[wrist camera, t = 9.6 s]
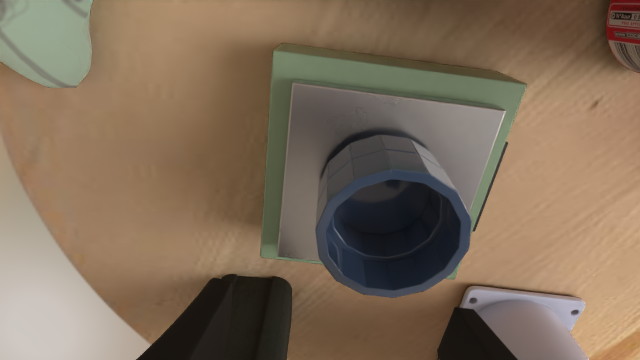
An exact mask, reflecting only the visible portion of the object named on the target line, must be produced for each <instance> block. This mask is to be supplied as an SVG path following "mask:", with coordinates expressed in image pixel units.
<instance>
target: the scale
mask: <svg viewBox="0 0 640 360" xmlns="http://www.w3.org/2000/svg"><path fill="white" fill-rule="evenodd" d="M294 79H300V80H308V81H316V82H323V83H331V84H339V85H346V86H354V87H362V88H369V89H377V90H385V91H392V92H400V93H407V94H415V95H423V96H430V97H438V98H446V99H453V100H461V101H469V102H476V103H484V104H492V105H498V106H500V107H502V108H503V109H505V110H506V113H505V115H504V118H503V121H502V124H501V126H500V129H499V132H498V135H497V138H496V140H495V143H494V146H493V149H492V151H491V154H490V157H489V160H488V163H487V165H486V168H485V171H484V174H483V176H482V179H481V182H480V185H479V188H478V190H477V193H476V196H475V199H474V202H473V204H472V207H471V210H470V213H469V214H470V216H471V218H472V225H471V233H472V231H475V230H476V227H477V224H478V222H479V219H480V216H481V214H482V211H483V208H484V206H485V203H486V200H487V198H488V195H489V193H490V190H491V187H492V185H493V182H494V179H495V177H496V174H497V171H498V169H499V166H500V163H501V161H502V158H503V155H504V153H505V150H506V147H507V145H508V142H506V140H507V137H508V134H509V132H510V129H511V126H512V124H513V121H514V118H515V116H516V113H517V110H518V108H519V105H520V102H521V100H522V97H523V94H524V92H525V89H526V86H527V84H525V83H523V82H521V81H519V80H516V79H514V78H512V77H509V76H507V75H505V74H503V73H500V72H497V71H490V70H482V69H475V68H467V67H460V66H452V65H445V64H437V63H430V62H422V61H415V60H407V59H400V58H392V57H385V56H377V55H370V54H362V53H355V52H347V51H340V50H332V49H325V48H317V47H310V46H302V45H295V44H287V43H281V44H280V45H279V46H278V47H277V48H276V49H275V50H274V51H273V55H272V72H271V88H270V104H269V120H268V136H267V153H266V169H265V185H264V201H263V218H262V234H261V250H260V256H261V257H262V258H271V259H280V260H288V261H297V262H306V263H314V264H323V263H322V262H321V261H313V260H304V259H296V258H287V257H279V256H277V248H278V237H279V225H280V214H281V203H282V191H283V180H284V168H285V157H286V145H287V134H288V122H289V111H290V99H291V88H292V82H293V80H294ZM470 236H471V235H470ZM460 263H461V261H460ZM460 263H459V264H458V266H457V267H456V269H455V270H454V272H453V273H452V274H451V275H449V276H448V277H446V278H445V279H455V276H456V274H457V271H458V268H459V266H460ZM323 265H324V264H323Z"/></svg>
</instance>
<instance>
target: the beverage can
mask: <svg viewBox="0 0 640 360" xmlns="http://www.w3.org/2000/svg"><path fill="white" fill-rule="evenodd" d="M606 33H607V40H608V43H609V46H610V49H611V51H612V53H613V54H614V56H615V58H616V59H617V60H618V61H619V62H620V63H621V64H622V65H624V66H625V67H627V68H628V69H630V70H632V71H635V72H638V73H640V0H611V2H610V5H609V8H608V14H607V19H606Z"/></svg>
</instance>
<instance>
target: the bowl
mask: <svg viewBox="0 0 640 360" xmlns="http://www.w3.org/2000/svg"><path fill="white" fill-rule="evenodd" d="M471 225H472V218H471V216H470V214H469V212H468V210H467V208H466V206H465V204H464V202H463V200H462V198H461V196H460V194H459V192H458V191H457V189H456V188H455V186H454V185H453V183H452V182H451V180H450V179H449V177H448V176H447V174H446V173H445V171H444V170H443V168H442V167H441V165H440V164H439V162H438V160H437V159H436V157H435V156H434V155H433V154H432V153H431V152H430V151H428V150H427V149H425V148H424V147H422V146H421V145H419V144H418V143H416V142H415V141H413V140H412V139H409V138H404V137H396V136H388V135H375V136H372V137H369V138H365V139H362V140H359V141H356V142H352V143H350V144H349V145H347V146H346V147H345V148H344V149H343V150H342V151H341V152H340V153H338V154H337V155H336V156H335V157H334V158H333V159H332V160H330V161H329V163H328V164H327V166H326V169H325V171H324V174H323V176H322V178H321V181H320V183H319V186H318V199H317V212H316V226H315V234H316V241H317V249H318V257H319V259H320V260H321V262H322V263H323V264H324V266H325V267H326V268H327V269H328V271H329V272H330V273H331V275H332V276H333V277H334V279H335V280H336V281H338V282H340V283H341V284H343V285H345V286H347V287H349V288H351V289H353V290H355V291H357V292H359V293H361V294H363V295H372V296H381V297H390V298H393V297H394V298H396V297H400V296H405V295H409V294H414V293H418V292H422V291H425V290H427V289H429V288H430V287H432V286H434V285H435V284H437V283H438V282H440V281H441V280H443V279H445V278H446V277H448V276H449V275H451V274H452V273H453V272H454V270H455V269H456V267H457V266H458V264H459V263H460V261H461V260H462V258H463V257H464V255H465V254H466V252H467V251H468V249H469V245H470V235H471Z"/></svg>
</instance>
